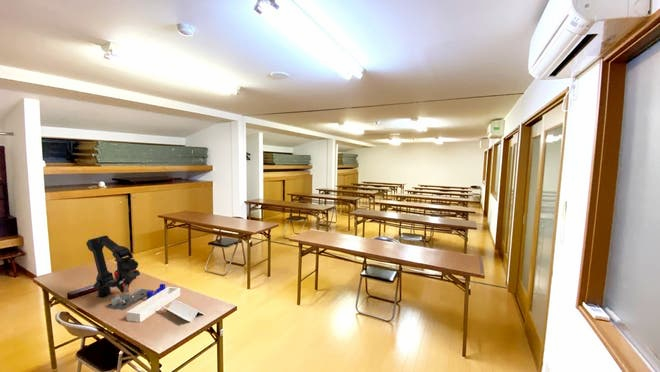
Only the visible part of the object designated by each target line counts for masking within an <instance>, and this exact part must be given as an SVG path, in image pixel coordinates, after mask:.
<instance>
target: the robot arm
mask: <svg viewBox="0 0 660 372" xmlns="http://www.w3.org/2000/svg"><path fill="white" fill-rule="evenodd" d="M85 244H86V246H87V248H88V250H89V251H90V252H92V254H93V258H94V259H93V260H94V263H95V267H96V270H97V276H96V278H95V279H96V282H95V283H94V284H93V289H94V290H97V295H96V296H95V297H96V298H99V299H100V298H101V299H104V298H106V297H107V298H108V297H109V296H110V295H112V294H113V292H112V290H111V288H115V287H117V289H118V290H119V291H121V292H122V293H123V284H128V287H130V285H131V283H132V282H133V281H134V280H136V279H137V277H138V276H141V272H140V270H138V267H139V263H138V261H136V260H135V259H134V256H133V253H132V252H131V250H130V249H129V248H128V247H126V246H124V245H120V244H118V243H116V242H115V241H113V240H112V239H111V238H110V237H109V236H108V235H102V236H97V237H94V238H90V239H88V240H87V241H86V243H85ZM104 247H105V248H106V249H108V251H111V254H112V257H114V262H116V270H115V271H116V272H117V273H118V276H117V277H116V278H118V279H117V280H115V276H114V273H113V272H111V271H109V270H108V267H107V263H106V260H105V255H104V251H103V249H104ZM135 269H136V270H135ZM131 270H133V271H131ZM134 270H135V271H134ZM123 280H124V283H123ZM132 280H133V281H132ZM131 281H132V282H131ZM130 282H131V283H130ZM121 292H120V293H121Z"/></svg>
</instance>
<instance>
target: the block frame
mask: <svg viewBox="0 0 660 372" xmlns="http://www.w3.org/2000/svg"><path fill="white" fill-rule="evenodd" d="M180 296H181V288H180V287H176V286H175V287H174V286H167V287H165V289H164V290H162V291H161V292H159V293H157V294H156V295H154V296H152V297H151V298H149V299H147V298H146V300H144V301H143V302H141V303H139V304H138V305H136V306H134V307H132V308H131V309H128V311H126V312H125V313H126V320H127V321H130V322H136V323H142V322H143V321H144V320H146V319H148V318H149V317H151V316H152V315H153V314H155V313H156V312H157V311H159V310H161V309H163V307H161V306H164V307H166V305H168V304H170V303H172V302H173V300H174V299H177V298H178V297H180ZM160 305H161V306H160Z"/></svg>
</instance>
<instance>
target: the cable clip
mask: <svg viewBox="0 0 660 372" xmlns="http://www.w3.org/2000/svg"><path fill="white" fill-rule="evenodd" d="M164 289H166V283H160V284H159V287H158V288H156V290H154V293H153V292H152V291H148V292H147V297H146V300H147V299H149V298H151V297H152V296H154V295H156V294H157V293H159V292H161V291H162V290H164Z"/></svg>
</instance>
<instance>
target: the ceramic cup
mask: <svg viewBox="0 0 660 372" xmlns="http://www.w3.org/2000/svg"><path fill="white" fill-rule="evenodd" d="M135 270H137V268H136V269H135ZM135 270H134V271H135ZM131 271H133V270H131ZM117 276H118V273H117V272H116V270H114V271H113V277H114V280H117V279H118V278H116V277H117ZM132 282H134V280H132V281H131V282H130V284H131V283H132ZM123 283H124V280H123Z"/></svg>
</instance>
